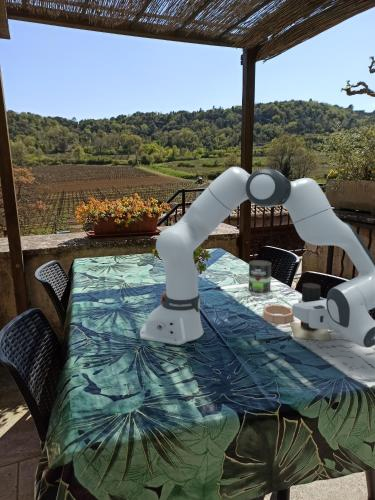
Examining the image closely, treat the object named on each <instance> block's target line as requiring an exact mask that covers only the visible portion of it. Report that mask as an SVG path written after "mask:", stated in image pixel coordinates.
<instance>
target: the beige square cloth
mask: <svg viewBox="0 0 375 500" xmlns="http://www.w3.org/2000/svg"><path fill="white" fill-rule="evenodd" d="M289 324H290V328H291V332H292V335H293V339H295V340H297V339H298V340H311V339H318V340H317V341H329V340H332V341H333V338H332V336H331V334H330V332H329V330H328V329H319V328H317V329H315V330H309V329H305V328H302V327H301V322H294V321H291V322H289Z"/></svg>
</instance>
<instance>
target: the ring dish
mask: <svg viewBox="0 0 375 500" xmlns="http://www.w3.org/2000/svg"><path fill="white" fill-rule="evenodd" d="M262 309H263V310H262V315H263V316H262V318H263V320H264V321H267V322H269V323H271V324H280V325H282V324H283V325H285V324H290V322H294V318H295V316H294V315H293V314H292V308H291V307H290V306H287V305H283V304H282V305H281V304H269V305H266V306H263V308H262Z"/></svg>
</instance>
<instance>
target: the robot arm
mask: <svg viewBox="0 0 375 500" xmlns="http://www.w3.org/2000/svg"><path fill="white" fill-rule="evenodd" d="M247 200H249V201H250V202H251V203H252V204H254V205H255V206H258V207H263V208H273V207H275V206H282V207H284V208H285V209H286V210H287V212H288V214H289V216H290V218H291V221H292V223H293V226H294V227H295V230H296V232H297V234H298V236H299V237H300V239H301V240H302V241H304V242H305V243H307V244H310V245H314V246H334V247H335V246H336V247H339V248H341V250H344V252H346V254H347V256H348V258H349V260H351V262H352V264H353V265H354V266H355V269H356V270H357V271H358V274H357V276H355V277H354V278H352V279H350V280H346V281H345V282H342V283H340V284H338V285H336V286H334V287H332V288H330V289H329V291H328V292H327V295H326V298H323V297H321V296H320V300H319V301H311V302H305V300H302V299H299V300H298V302H295V303H293V304H292V314H293V315H294V318H296V319H298V320H299V321H300V322H301V321H302V322H304V323H309V327H311V328H319V329H327V330H328V331H333V332H335V333H337V334H340V335H341V336H342V337H343V338H344V339H346V340H347V341H349V342H351V343H353V344H355V345H357V346H359V347H362V348H365V349H366V348H368V349H369V348H372V347H374V346H375V319H373V317H372V316H371V315H370V313H369V311H370V310H372V309H374V308H375V258H374V256H373V255H372V253H371V252H370V250H369V249H368V247H367V246H366V245H365V243H364V241H363V239H362V238H361V236H360V235H359V233H358V232H357V231H356V229H354V227H353V226H352V225H351V224H350V223H348V222H344V221H342V220H341V219H340V218H339V217H338V216H337V215H336V213H335V212H334V210H333V208H332V206H331V204H330V201H329V200H328V198H327V195H325V193H324V192H323V189H322V188H321V187H320V185H319V184H318V182H317V181H315V179H313V178H310V177H303V178H298V179H296V180H293V181H290V180H289V178H287V177H286V176H285V175H283V174H282V172H280V171H279V170H276V169H272V168H269V167H267V168H263V167H262V168H260V169H257V170H255V171H253V172H252V173H251V174H250V173H249V172H247V171H246V169H244V168H242V167H239V166H231V167H228V169H226V170H225V171H223V173H221V174H219V176H217V177H216V178H215V179H214V180H213V181H212V182H211V183H210V184H209V185H208V186H207V187H206V188H205V189H204V190H203V192H201V193H200V195H199V196H198V197H196V199H194V201H193V202H192V203H191V204H190V207H189V208H188V210H187V211H186V212H185V213H184V215H183V216H182V217H181V218H180V219H179V220H178V221H177V222H176V223H174V224H172V225H170V226H168V227H167V228H164V229H163V230H162V232H161V233H160V234H159V236H158V237H157V238H156V241H155V249H156V251H157V254H158V255H159V257H160V258H161V261H162V266H163V269H164V275H165V289H166V290H164V291H163V292H162V294H161V297H160V301H159V302H160V305H159V306H157V307H156V308H154V309H152V311H151V312H150V313H149V314H148V316H147V318H146V322H145V324H144V325H143V326H142V327H141V328H140V330H139V338H140V339H141V340H147V341H152V342H158V343H165V344H170V345H177V346H181V345H184V344H185V343H187V342H191V341H195V340H197V339H200V337H202V336H203V335H204V328H203V325H202V322H201V320H202V319H201V314H200V309H201V298H200V297H201V296H200V293H199V274H198V270H197V269H196V264H195V260H194V251H195V250H196V249H198V247H200V245H201V244H203V242H204V241H206V239H207V238H208V237H209V236H210V235H211V234H212V233H213V232H214V231H215V230H216V229H217V228H218V227H219V226H220V225H221V224H222V223H223V222H224V221H225V220H226V219H227V218H228V217H229V216H230V215H231V214H232V213H233V212H234V210H236V209H237V208H238V207H239V206H240V205H241V204H242V203H243V202H245V201H247Z"/></svg>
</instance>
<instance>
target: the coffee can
mask: <svg viewBox="0 0 375 500" xmlns="http://www.w3.org/2000/svg"><path fill="white" fill-rule="evenodd" d="M271 276H272V262H270V261H268V260H263V259H262V260H260V259H257V260H256V259H255V260H254V259H253V260H250V261H249V262H248V293H250V294H252V295H257V296H265V295H266V296H267V295H269V294H270V293H271V278H272V277H271Z"/></svg>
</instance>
